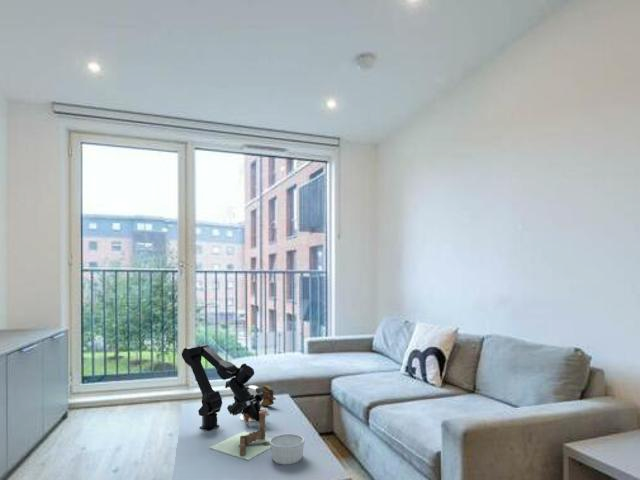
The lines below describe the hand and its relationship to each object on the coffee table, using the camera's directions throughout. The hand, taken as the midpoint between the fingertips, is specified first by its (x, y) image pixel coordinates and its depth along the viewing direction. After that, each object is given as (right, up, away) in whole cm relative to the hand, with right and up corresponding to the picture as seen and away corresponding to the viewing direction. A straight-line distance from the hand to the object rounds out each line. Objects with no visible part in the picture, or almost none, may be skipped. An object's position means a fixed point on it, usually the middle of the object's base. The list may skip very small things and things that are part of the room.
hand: (259, 420), depth 177 cm
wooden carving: (-4, -12, +45) cm, 46 cm away
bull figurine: (-4, -9, +16) cm, 18 cm away
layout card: (-5, -7, -6) cm, 11 cm away
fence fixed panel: (-5, -7, -12) cm, 15 cm away
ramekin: (+13, -7, -19) cm, 24 cm away
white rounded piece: (-7, -10, +26) cm, 29 cm away
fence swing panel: (-1, -7, -3) cm, 8 cm away
